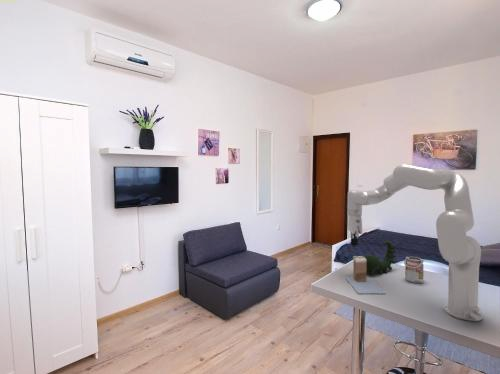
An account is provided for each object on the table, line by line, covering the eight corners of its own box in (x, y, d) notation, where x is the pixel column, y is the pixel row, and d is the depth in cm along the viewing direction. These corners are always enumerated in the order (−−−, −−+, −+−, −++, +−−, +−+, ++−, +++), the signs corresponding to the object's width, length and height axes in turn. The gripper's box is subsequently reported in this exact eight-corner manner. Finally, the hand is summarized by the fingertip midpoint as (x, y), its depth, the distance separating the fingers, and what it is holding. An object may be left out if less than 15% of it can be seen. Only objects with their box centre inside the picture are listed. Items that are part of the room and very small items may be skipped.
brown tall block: (366, 281, 142) (366, 259, 141) (356, 281, 142) (356, 259, 141) (362, 278, 147) (362, 256, 146) (353, 278, 147) (353, 256, 146)
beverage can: (419, 286, 136) (419, 262, 136) (401, 281, 143) (401, 258, 142) (426, 281, 142) (426, 258, 142) (408, 276, 149) (408, 255, 148)
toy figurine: (384, 269, 165) (353, 272, 155) (386, 238, 165) (355, 239, 155) (398, 274, 156) (366, 278, 146) (400, 242, 156) (368, 243, 146)
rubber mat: (386, 294, 128) (386, 292, 128) (358, 294, 128) (358, 293, 128) (369, 278, 148) (369, 276, 148) (345, 278, 148) (345, 277, 148)
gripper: (366, 214, 143) (366, 249, 144) (356, 210, 157) (356, 241, 159) (352, 214, 143) (351, 249, 144) (343, 210, 158) (343, 241, 159)
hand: (354, 245), depth 151 cm, fingers closed
